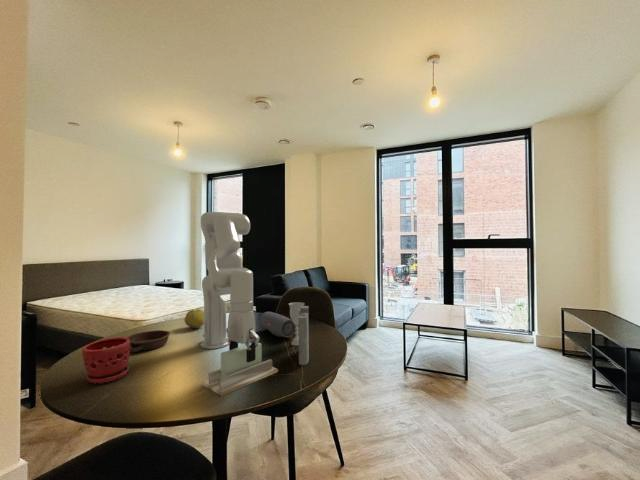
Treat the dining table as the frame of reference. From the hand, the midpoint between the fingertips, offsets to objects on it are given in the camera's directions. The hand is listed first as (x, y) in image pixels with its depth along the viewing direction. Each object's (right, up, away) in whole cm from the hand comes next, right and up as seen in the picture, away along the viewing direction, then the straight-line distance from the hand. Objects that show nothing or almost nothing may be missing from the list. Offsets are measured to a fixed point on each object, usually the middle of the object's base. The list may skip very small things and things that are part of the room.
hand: (242, 357), depth 101 cm
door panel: (0, -6, 0) cm, 6 cm away
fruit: (-42, -9, +63) cm, 76 cm away
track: (0, -7, 0) cm, 7 cm away
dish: (-51, -9, +34) cm, 62 cm away
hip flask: (+20, -7, +18) cm, 28 cm away
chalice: (+16, -8, +35) cm, 39 cm away
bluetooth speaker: (+5, -8, +50) cm, 51 cm away
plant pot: (-46, -8, +1) cm, 47 cm away
